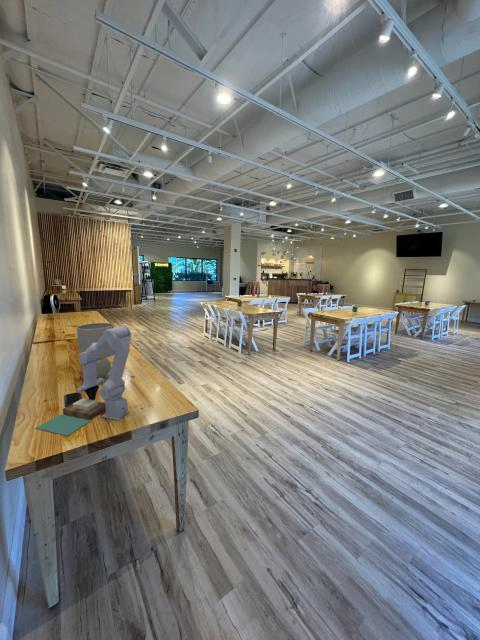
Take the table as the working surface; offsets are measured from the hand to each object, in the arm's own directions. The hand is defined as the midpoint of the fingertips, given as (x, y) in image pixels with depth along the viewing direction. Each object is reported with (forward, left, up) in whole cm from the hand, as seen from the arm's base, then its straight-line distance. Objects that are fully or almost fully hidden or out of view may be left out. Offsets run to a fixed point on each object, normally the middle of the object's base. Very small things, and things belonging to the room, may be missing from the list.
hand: (92, 400), depth 133 cm
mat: (0, +16, -4) cm, 17 cm away
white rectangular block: (0, +4, 0) cm, 4 cm away
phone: (+17, -4, -4) cm, 18 cm away
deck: (0, +4, -4) cm, 6 cm away
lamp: (+23, -29, -4) cm, 37 cm away
